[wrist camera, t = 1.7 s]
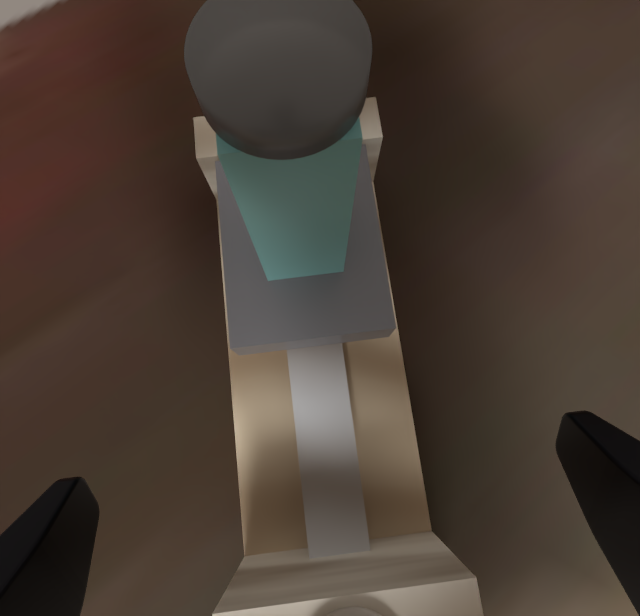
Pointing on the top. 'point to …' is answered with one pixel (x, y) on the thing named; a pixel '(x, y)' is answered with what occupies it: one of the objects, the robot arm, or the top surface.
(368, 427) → the rail track
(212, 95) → the carriage
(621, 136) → the top surface
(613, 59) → the top surface
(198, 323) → the top surface
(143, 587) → the top surface
